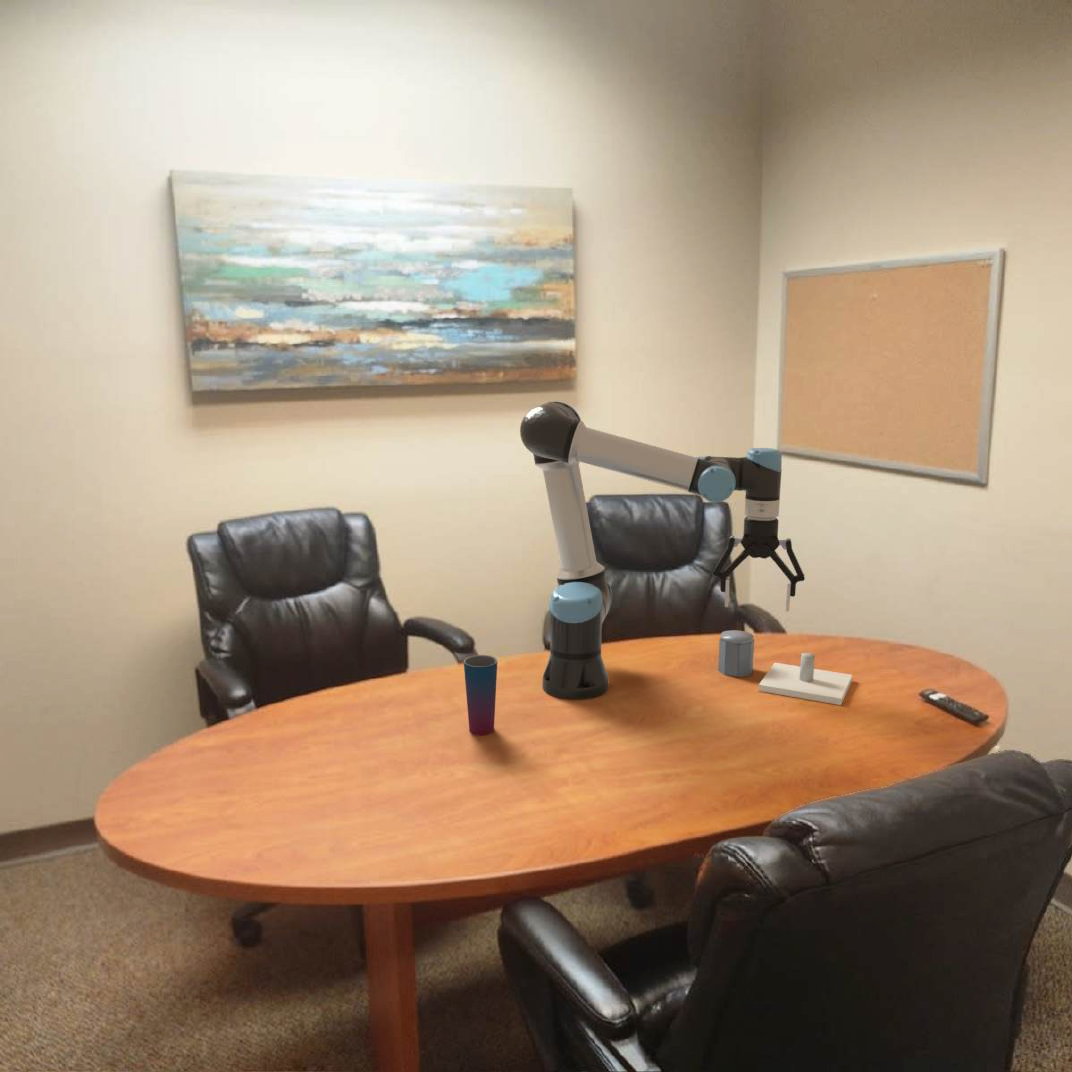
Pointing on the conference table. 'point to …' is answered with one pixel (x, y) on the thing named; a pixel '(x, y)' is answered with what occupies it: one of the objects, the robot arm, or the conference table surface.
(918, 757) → the conference table surface
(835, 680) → the stud board
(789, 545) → the robot arm
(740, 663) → the cap
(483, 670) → the cup
